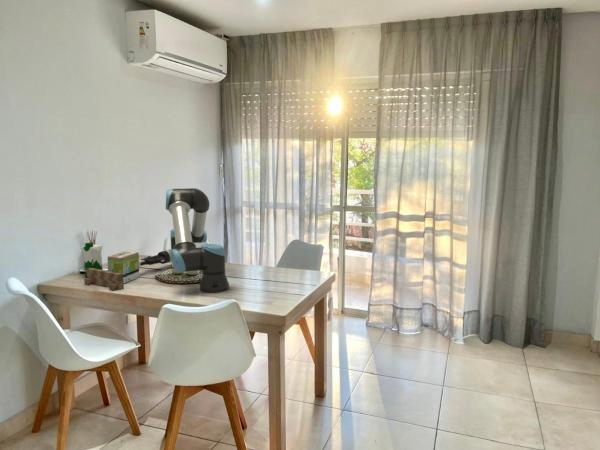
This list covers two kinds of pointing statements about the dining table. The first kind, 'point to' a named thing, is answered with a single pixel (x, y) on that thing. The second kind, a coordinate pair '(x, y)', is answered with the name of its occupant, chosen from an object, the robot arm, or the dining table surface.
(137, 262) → the tea box
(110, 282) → the brown bumpy block
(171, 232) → the robot arm
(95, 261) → the milk carton
